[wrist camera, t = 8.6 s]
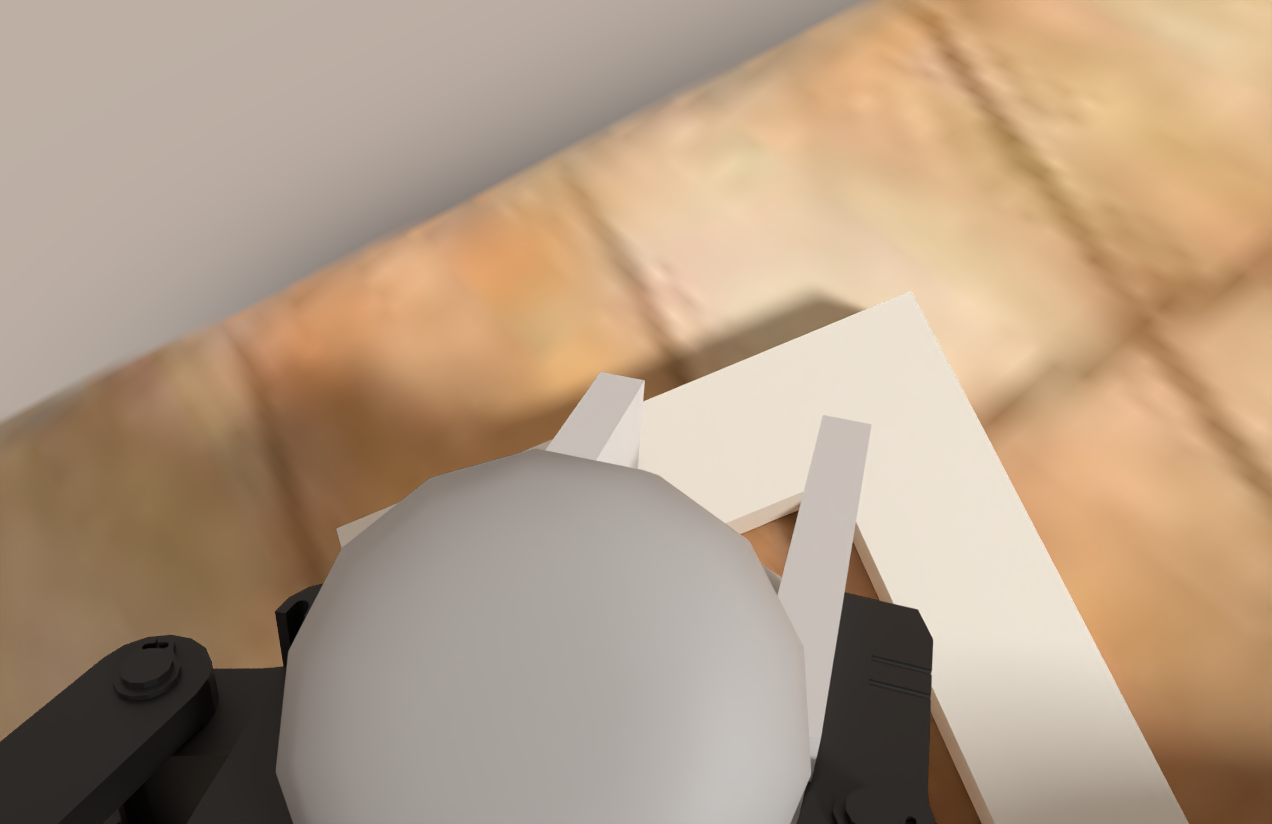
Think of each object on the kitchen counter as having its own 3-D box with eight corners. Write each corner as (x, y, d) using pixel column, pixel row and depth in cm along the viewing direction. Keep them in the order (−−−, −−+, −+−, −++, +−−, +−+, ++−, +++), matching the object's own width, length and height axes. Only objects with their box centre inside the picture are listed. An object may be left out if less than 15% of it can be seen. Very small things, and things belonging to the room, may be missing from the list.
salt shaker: (500, 634, 20) (50, 526, 8) (749, 507, 20) (681, 203, 8) (622, 921, 18) (280, 1357, 6) (895, 781, 18) (1102, 939, 6)
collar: (901, 322, 24) (911, 290, 22) (1211, 929, 20) (1257, 954, 18) (371, 541, 24) (336, 528, 22) (558, 1181, 20) (533, 1231, 18)
